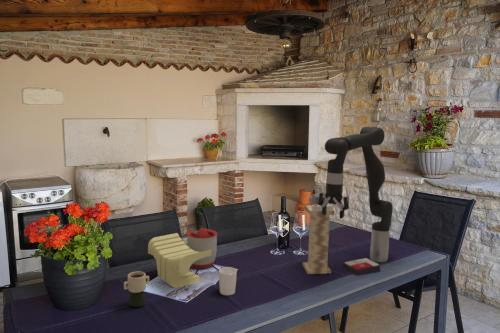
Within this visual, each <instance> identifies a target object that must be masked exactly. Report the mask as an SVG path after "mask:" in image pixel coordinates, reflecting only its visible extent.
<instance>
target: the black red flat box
mask: <svg viewBox="0 0 500 333" xmlns="http://www.w3.org/2000/svg"><path fill="white" fill-rule="evenodd" d="M344 268H345V269H344ZM343 269H344V270H346V271H347V272H350V273H351V272H352V273H351V274H353V275H355V276H363V274H364V275H368V274H373V273H380V272H381V264H379V263H378V262H375V261H372V260H371V259H370V258H367V257H364V258H359V259H354V260H350V261H346V262H344V263H343Z"/></svg>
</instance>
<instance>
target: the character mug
mask: <svg viewBox="0 0 500 333" xmlns="http://www.w3.org/2000/svg"><path fill="white" fill-rule="evenodd" d="M148 284H150V275H146V273H145V272H144V271H138V270H136V271H132V272H129V273H128V274H127V281H124V282H123V290H128V292H130V293H129V300H128V305H129V306H131V307H134V308H140V307H142V306H144V305H145V304H146V298H145V293H144V292H145V290H146V288H147V285H148Z"/></svg>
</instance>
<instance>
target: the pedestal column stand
mask: <svg viewBox="0 0 500 333" xmlns="http://www.w3.org/2000/svg"><path fill="white" fill-rule="evenodd" d="M303 208H304V211H306V212H307V213H308V215H309V229H308V232H309V233H308V250H307V252H308V253H307V261H302V262H301V265H302V267H303V269H304V270H305V272H306V274H307V275H316V274H317V275H318V274H319V275H322V274H323V275H324V274H326V275H327V273H329V274H332V269H331V268H330V267H329V266H328V258H329V256H328V254H329V241H330V240H329V238H330V222H331V221H330V220H331V219H330V218H331V216H335V210H334V209H333V211H326V215H323V214H322V211H312V210H311V209H312V204H311V205H309V204H307V205H304V207H303Z"/></svg>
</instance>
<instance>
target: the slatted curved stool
mask: <svg viewBox="0 0 500 333" xmlns="http://www.w3.org/2000/svg"><path fill="white" fill-rule="evenodd" d="M147 254H149V255H151V256H153V257H154V259H155V262H156V269H157V277H158V278H159V279H161V280H162V281H163V282H165V283H166V284H167V285H169V286H170V287H173V288H174V289H178V288H182V287H184V286H188V285H191V284H196V283H199V282H201V278H200V277H201V276H199V275H198V274H196V273H194V272H193V271H191V270H190V268H191V267H192V266H191V265H192V264H193V263H194V262H195V261H197V260H199V259H201V258H204V257H207V256H211V250H207V251H202V252H197V251H196V252H195V251H194V250H192V249H190V248H189V247H188V246H187V244H186V243H185V241H184V240H183V239H182V237H180V235H179V233H178V232H175V233H170V234H166V235H160V236H155V237H152V238H151V239H150V240H149V242H148V245H147Z"/></svg>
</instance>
